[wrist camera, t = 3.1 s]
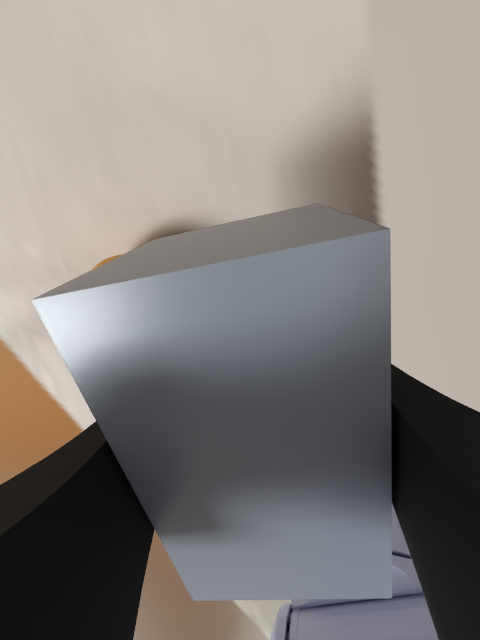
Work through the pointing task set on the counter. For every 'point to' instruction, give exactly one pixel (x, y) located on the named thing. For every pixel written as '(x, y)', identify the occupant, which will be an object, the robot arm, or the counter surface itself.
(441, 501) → the robot arm
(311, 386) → the tall gray prism
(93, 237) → the counter surface
